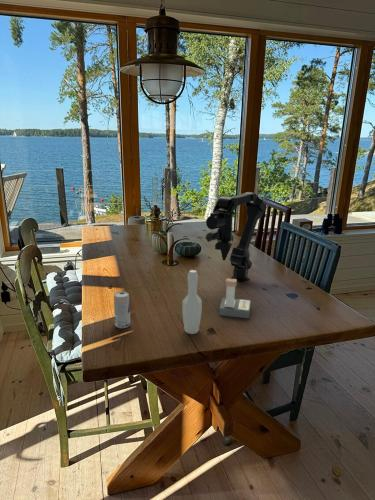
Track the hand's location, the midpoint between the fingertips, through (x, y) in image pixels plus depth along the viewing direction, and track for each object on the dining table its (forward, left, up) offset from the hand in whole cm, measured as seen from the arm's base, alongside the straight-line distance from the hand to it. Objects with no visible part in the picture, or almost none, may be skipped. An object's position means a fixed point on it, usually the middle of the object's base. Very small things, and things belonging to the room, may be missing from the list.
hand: (224, 260), depth 160 cm
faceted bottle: (+34, +26, -13) cm, 45 cm away
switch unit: (+11, +22, -13) cm, 28 cm away
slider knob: (+14, +22, -10) cm, 28 cm away
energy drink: (+53, +10, -13) cm, 56 cm away
